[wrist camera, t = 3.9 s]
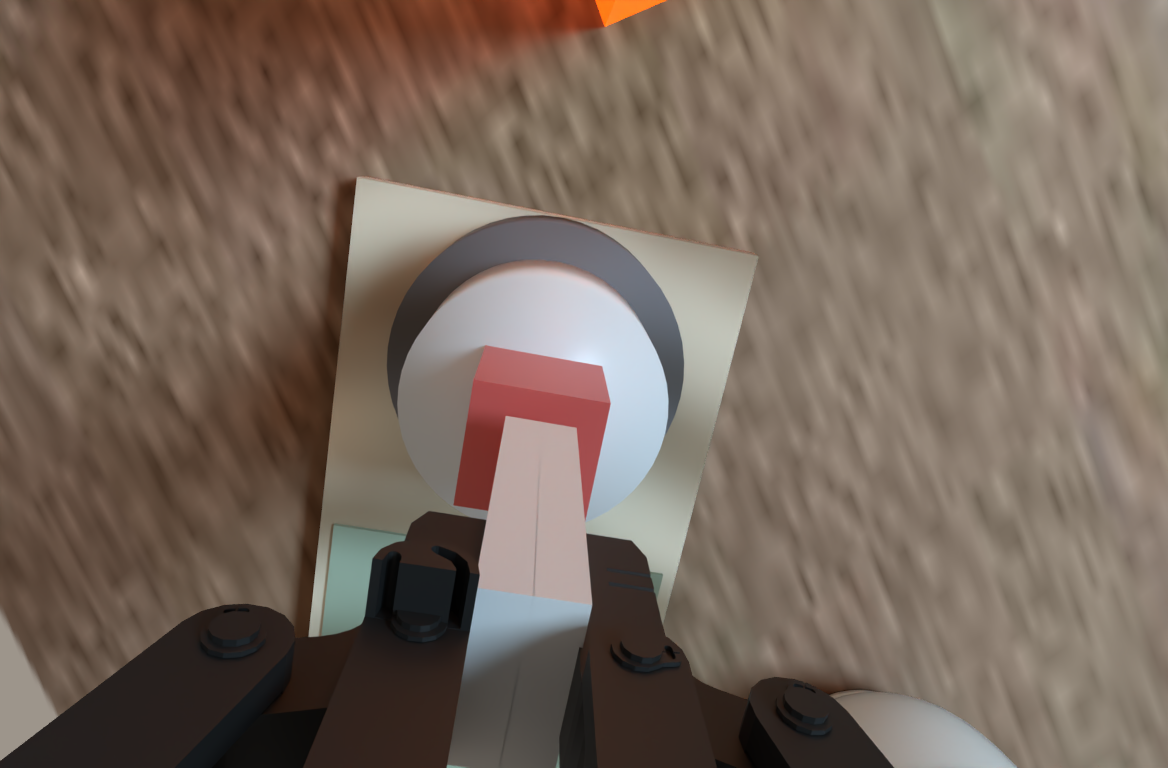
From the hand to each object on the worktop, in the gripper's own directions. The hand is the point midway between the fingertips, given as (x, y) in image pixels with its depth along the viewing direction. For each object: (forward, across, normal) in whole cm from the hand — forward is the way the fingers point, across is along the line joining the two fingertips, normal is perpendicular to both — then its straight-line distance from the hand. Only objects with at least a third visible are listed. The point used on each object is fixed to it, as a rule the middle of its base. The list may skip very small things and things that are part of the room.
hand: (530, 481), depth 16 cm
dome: (+7, 0, 0) cm, 7 cm away
